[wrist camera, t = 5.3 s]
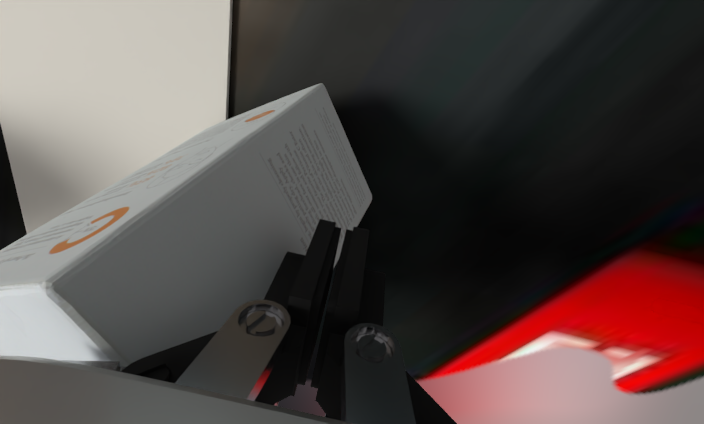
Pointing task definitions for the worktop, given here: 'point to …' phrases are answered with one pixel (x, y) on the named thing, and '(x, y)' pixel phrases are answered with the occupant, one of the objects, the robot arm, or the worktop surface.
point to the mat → (105, 90)
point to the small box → (182, 237)
